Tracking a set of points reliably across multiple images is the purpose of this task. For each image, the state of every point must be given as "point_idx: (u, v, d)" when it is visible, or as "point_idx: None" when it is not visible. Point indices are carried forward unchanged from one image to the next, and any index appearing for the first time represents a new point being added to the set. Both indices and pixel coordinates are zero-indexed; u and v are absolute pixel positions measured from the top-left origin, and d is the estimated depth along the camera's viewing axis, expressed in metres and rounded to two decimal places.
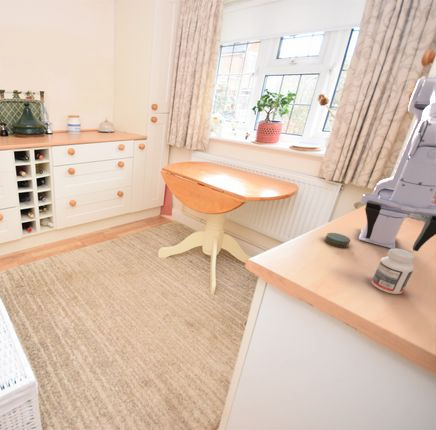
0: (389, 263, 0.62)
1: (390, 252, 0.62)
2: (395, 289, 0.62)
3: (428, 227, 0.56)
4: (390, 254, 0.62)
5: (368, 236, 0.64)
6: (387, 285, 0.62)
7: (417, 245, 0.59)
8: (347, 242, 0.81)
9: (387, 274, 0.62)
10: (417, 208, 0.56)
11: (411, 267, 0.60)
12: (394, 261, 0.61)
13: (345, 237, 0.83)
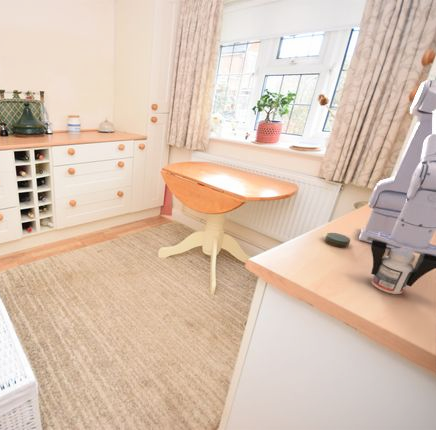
0: (389, 263, 0.62)
1: (390, 252, 0.62)
2: (396, 289, 0.62)
3: (421, 265, 0.58)
4: (390, 254, 0.62)
5: (374, 272, 0.65)
6: (387, 285, 0.62)
7: (410, 281, 0.61)
8: (347, 242, 0.81)
9: (387, 274, 0.62)
10: (416, 248, 0.58)
11: (411, 267, 0.60)
12: (394, 262, 0.61)
13: (345, 237, 0.83)
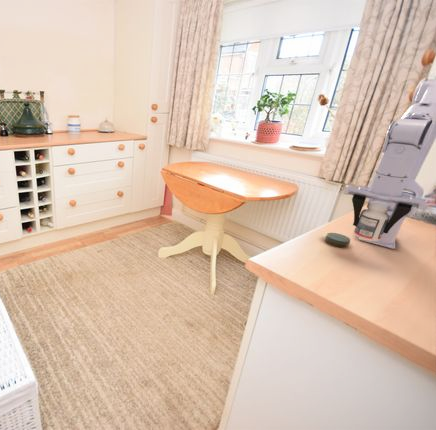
0: (368, 213, 0.69)
1: (369, 203, 0.69)
2: (374, 236, 0.69)
3: (395, 212, 0.66)
4: (369, 205, 0.69)
5: (355, 224, 0.72)
6: (366, 233, 0.70)
7: (386, 228, 0.68)
8: (347, 242, 0.81)
9: (366, 223, 0.70)
10: (390, 197, 0.65)
11: (387, 216, 0.68)
12: (372, 211, 0.69)
13: (345, 237, 0.83)
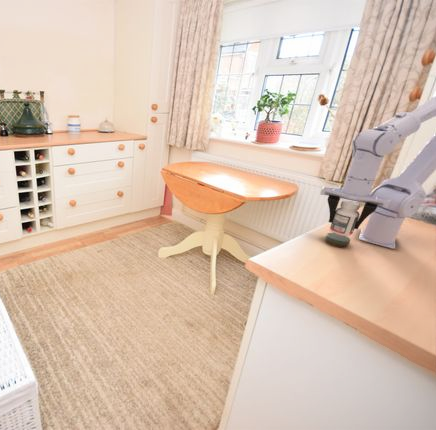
0: (341, 211, 0.79)
1: (342, 203, 0.79)
2: (346, 232, 0.79)
3: (363, 210, 0.76)
4: (342, 204, 0.79)
5: (330, 221, 0.82)
6: (339, 229, 0.80)
7: (357, 224, 0.78)
8: (347, 242, 0.81)
9: (339, 220, 0.79)
10: (359, 197, 0.75)
11: (357, 213, 0.78)
12: (345, 210, 0.79)
13: (345, 237, 0.83)
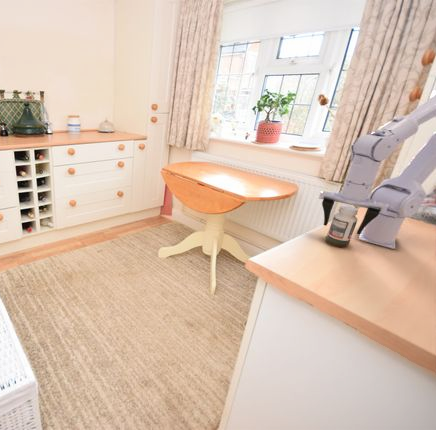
0: (339, 216, 0.80)
1: (340, 208, 0.80)
2: (344, 237, 0.80)
3: (365, 216, 0.76)
4: (340, 209, 0.80)
5: (325, 224, 0.83)
6: (338, 234, 0.81)
7: (359, 229, 0.78)
8: (347, 242, 0.81)
9: (338, 225, 0.80)
10: (357, 201, 0.76)
11: (355, 219, 0.78)
12: (343, 215, 0.79)
13: None
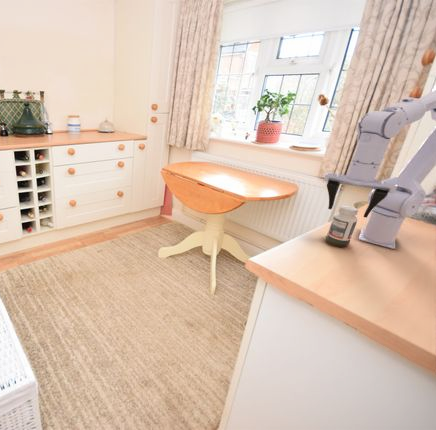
0: (339, 216, 0.80)
1: (340, 208, 0.80)
2: (344, 237, 0.80)
3: (373, 197, 0.72)
4: (340, 209, 0.80)
5: (330, 207, 0.79)
6: (338, 234, 0.81)
7: (366, 212, 0.74)
8: (347, 242, 0.81)
9: (338, 225, 0.80)
10: (364, 182, 0.72)
11: (355, 219, 0.78)
12: (343, 215, 0.79)
13: None
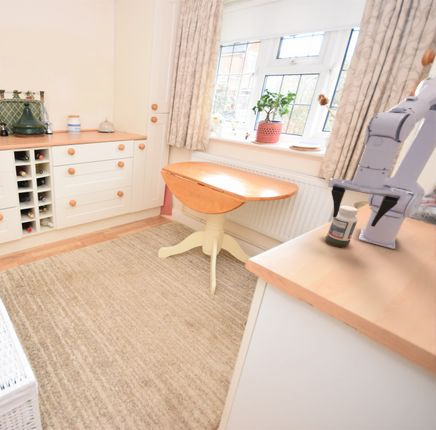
0: (339, 216, 0.80)
1: (340, 208, 0.80)
2: (344, 237, 0.80)
3: (381, 205, 0.66)
4: (340, 209, 0.80)
5: (334, 215, 0.74)
6: (338, 234, 0.81)
7: (374, 221, 0.69)
8: (347, 242, 0.81)
9: (338, 225, 0.80)
10: (372, 189, 0.67)
11: (355, 219, 0.78)
12: (343, 215, 0.79)
13: None
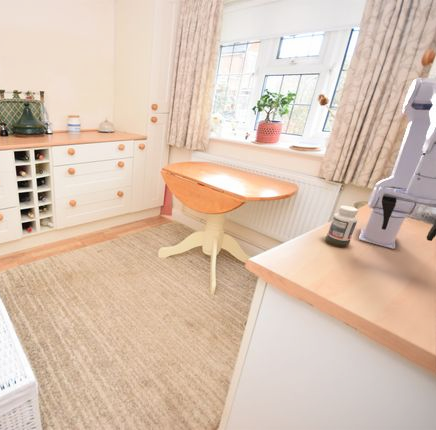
0: (339, 216, 0.80)
1: (340, 208, 0.80)
2: (344, 237, 0.80)
3: None
4: (340, 209, 0.80)
5: (384, 227, 0.68)
6: (338, 234, 0.81)
7: (431, 235, 0.63)
8: (347, 242, 0.81)
9: (338, 225, 0.80)
10: (432, 200, 0.60)
11: (355, 219, 0.78)
12: (343, 215, 0.79)
13: None
